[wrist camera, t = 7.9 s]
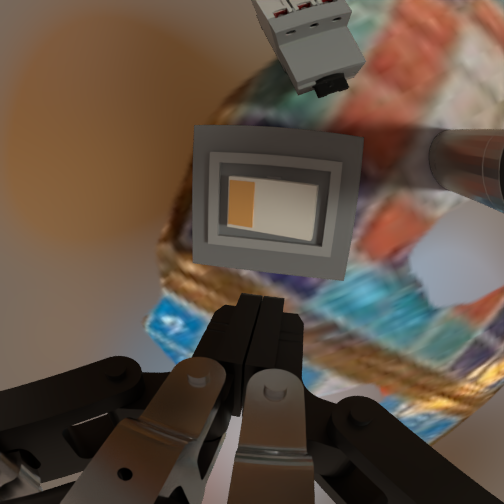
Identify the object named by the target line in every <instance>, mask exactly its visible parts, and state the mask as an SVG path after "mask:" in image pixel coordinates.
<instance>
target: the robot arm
mask: <svg viewBox="0 0 504 504" xmlns="http://www.w3.org/2000/svg"><path fill="white" fill-rule="evenodd" d="M429 162H430V168H431V171H432V174H433V176H434V178H435V179H436V181H437V182H438V183H439V184H440V185H441V186H442V187H444V188H445V189H447V190H450V191H452V192H455V193H457V194H460V195H462V196H465V197H467V198H470V199H472V200H474V201H477V202H479V203H482V204H484V205H486V206H488V207H491V208H493V209H495V210H497V211H500V212H502V213H504V129H459V130H446V131H443V132H441V133H440V134H439V135H437V136H436V138H435V139H434V141H433V142H432V145H431V147H430V153H429ZM262 300H263V301H262ZM283 306H284V298H278V297H270V296H264V297H263V296H261V295H253V294H246V293H241V295H240V298H239V300H238V303H237V305H236V306H231V305H224V306H222V307H221V308H220V309H218V310H217V311H215V313H214V315H213V317H212V319H211V321H210V323H209V324H208V326H207V329H206V330H205V332H204V334H203V336H202V338H201V340H200V342H199V344H198V346H197V348H196V350H195V352H194V354H193V356H192V358H188V359H185V360H182V361H181V362H179V363H178V364H177V365H176V366H175V367H174V368H173V370H172V371H171V372H164V373H149V372H148V373H147V372H142V371H141V367H140V365H139V364H138V363H137V362H136V361H135V360H133V359H131V358H129V357H125V356H113V357H109V358H106V359H103V360H100V361H97V362H94V363H91V364H89V365H86V366H82V367H79V368H76V369H73V370H70V371H67V372H64V373H61V374H58V375H55V376H51V377H48V378H45V379H42V380H38V381H35V382H31V383H28V384H25V385H21V386H18V387H14V388H11V389H7V390H3V391H0V504H201V503H202V500H203V496H204V492H205V486H206V483H207V480H208V478H209V476H210V473H211V471H212V469H213V466H214V464H215V461H216V459H217V457H218V454H219V452H220V449H221V447H222V445H223V442H224V439H225V437H226V430H227V428H228V425H229V422H230V419H231V415H232V416H237V417H240V414H241V410H242V409H243V410H242V424H241V430H240V437H239V443H238V449H237V451H236V454H235V459H234V465H233V471H232V477H231V483H230V489H229V495H228V501H227V504H315V492H314V480H315V481H316V482H317V483H318V484H319V486H321V488H322V489H323V490H324V491H325V492H326V493H327V494H328V495H329V497H330V498H331V499H332V500H333V501H334V502H335V503H336V504H504V503H503V502H502V501H501V500H499V499H498V498H496V497H495V496H494V495H492V494H491V493H490V492H488V491H487V490H485V489H484V488H483V487H482V486H480V485H479V484H478V483H476V482H475V481H474V480H473V479H471V478H470V477H469V476H467V475H466V474H465V473H463V472H462V471H461V470H459V469H458V468H457V467H456V466H454V465H453V464H452V463H451V462H449V461H448V460H447V459H446V458H444V457H443V456H442V455H441V454H439V453H438V452H437V451H436V450H434V449H433V448H432V447H431V446H429V445H428V444H427V443H426V442H424V441H423V440H422V439H421V438H420V437H418V436H417V435H416V434H415V433H413V432H412V431H411V430H410V429H409V428H407V427H406V426H405V425H404V424H403V423H401V422H400V421H399V420H398V419H397V418H395V417H394V416H393V415H392V414H391V413H389V412H388V411H387V410H386V409H385V408H384V407H382V406H381V405H380V404H379V403H377V402H376V401H374V400H372V399H370V398H368V397H363V396H351V397H347V398H344V399H342V400H341V401H339V402H338V403H337V404H335V403H332V402H329V401H326V400H323V399H321V398H318V397H317V396H315V395H313V394H312V393H311V392H309V391H308V390H307V388H306V387H305V386H304V384H303V381H302V358H303V330H304V323H303V322H302V320H301V318H300V317H299V315H298V314H293V313H284V312H283ZM242 406H243V408H242ZM105 413H108V414H107V415H104V416H101V417H99V418H96V419H93V420H90V421H87V422H84V423H82V424H79V425H75V426H72V425H74V424H77V423H80V422H82V421H85V420H88V419H91V418H94V417H97V416H99V415H102V414H105ZM81 471H83V472H82V474H81V475H80V476H79V478H78V479H77V481H73V482H70V483H67V484H64V485H61V486H58V487H54V488H52V489H48V490H45V491H42V488H41V486H40V483H43V482H47V481H51V480H54V479H58V478H62V477H65V476H68V475H72V474H75V473H78V472H81Z"/></svg>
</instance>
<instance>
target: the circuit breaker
mask: <svg viewBox="0 0 504 504" xmlns="http://www.w3.org/2000/svg"><path fill="white" fill-rule="evenodd" d="M251 1H252V3H253V6H254V8H255V11H256V13H257V15H256V16H257V18H258V20H259V23H260V25H261V28H262V30H264V33H265V35H266V37H267V39H268V41H269V43H270V44H271V46H272V48H273V50H274V52H275V54H276V56H277V58H278V60H279V61H280V63H281V65H282V67H283V69H284V71H285V72H287V73H288V75H289V78H290V80H291V82H292V84H293V86H294V88H295V90H296V92H297V94H298V95H301V94H303V93H306V92H309V91H312V90H315V92H316V94H317V96H318V98H321V97H324V96H327V95H328V94H331V93H334V92H337V91H339V92H340V91H343V90H346V89H348V88H349V86H348V83H347V81H346V80H347V79H350V78H354V76H355V75H356V74H357V73H358V71H359V70H360V69H361V68H362V66H363V65H364V64H365V62H366V60H365V58H364V56H363V55H362V53H361V51H360V49H359V47H358V45H357V43H356V41H355V40H354V38H353V36H352V34H351V33H350V31H349V29H348V27H347V24H348V21H349V19H350V16H351V13H352V10H351V9H350V7H349V6H348V4H347V3H346V1H345V0H251Z"/></svg>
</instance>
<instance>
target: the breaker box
mask: <svg viewBox="0 0 504 504" xmlns="http://www.w3.org/2000/svg"><path fill="white" fill-rule="evenodd" d="M363 144H364V137H358V136H351V135H345V134H338V133H330V132H322V131H313V130H304V129H293V128H281V127H265V126H242V125H194V144H193V183H192V238H193V263H197V264H204V265H212V266H220V267H228V268H236V269H244V270H253V271H261V272H269V273H278V274H287V275H295V276H304V277H313V278H322V279H332V280H341V281H344V277H345V272H346V266H347V261H348V256H349V250H350V245H351V239H352V233H353V227H354V220H355V213H356V206H357V199H358V192H359V183H360V175H361V166H362V155H363ZM233 175H235V176H246V177H257V178H266V179H275V180H284V181H292V182H300V183H307V184H314V185H319V186H318V196H317V205H316V214H315V223H314V231H313V238H312V240H311V241H307V240H302V239H296V238H291V237H285V236H279V235H274V234H268V233H262V232H256V231H250V230H244V229H238V228H232V227H227V214H228V186H229V176H233Z"/></svg>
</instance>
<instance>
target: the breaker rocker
mask: <svg viewBox="0 0 504 504" xmlns="http://www.w3.org/2000/svg"><path fill="white" fill-rule="evenodd" d="M318 186H319V185H314V184H307V183H300V182H292V181H284V180H275V179H266V178H257V177H246V176H235V175H233V176H229V186H228V214H227V227H232V228H238V229H244V230H250V231H256V232H262V233H268V234H274V235H279V236H285V237H291V238H296V239H302V240H307V241H311V240H312V238H313V231H314V223H315V214H316V205H317V196H318Z"/></svg>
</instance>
